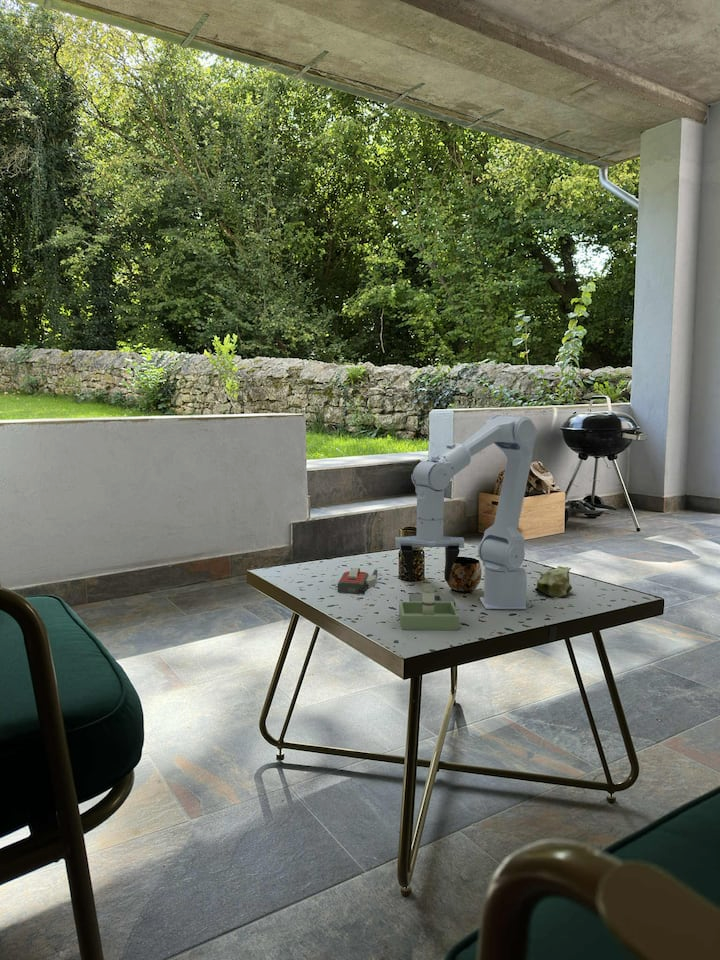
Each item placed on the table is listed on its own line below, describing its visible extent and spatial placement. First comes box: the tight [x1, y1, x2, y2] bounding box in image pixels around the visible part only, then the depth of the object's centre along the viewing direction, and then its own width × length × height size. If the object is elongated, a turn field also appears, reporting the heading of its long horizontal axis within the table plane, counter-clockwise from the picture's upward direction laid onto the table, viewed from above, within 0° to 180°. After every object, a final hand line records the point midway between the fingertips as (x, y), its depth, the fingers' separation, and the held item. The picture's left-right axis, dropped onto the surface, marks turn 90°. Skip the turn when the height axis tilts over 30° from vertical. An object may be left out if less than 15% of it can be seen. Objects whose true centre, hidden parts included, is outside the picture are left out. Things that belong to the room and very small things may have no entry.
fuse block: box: [408, 593, 457, 609], centre depth 167 cm, size 10×7×2 cm
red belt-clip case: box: [337, 567, 379, 595], centre depth 186 cm, size 9×4×20 cm
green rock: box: [534, 565, 573, 598], centre depth 178 cm, size 9×9×8 cm
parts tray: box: [398, 601, 460, 631], centre depth 156 cm, size 12×10×3 cm
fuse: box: [421, 583, 436, 615], centre depth 156 cm, size 3×3×8 cm
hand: (428, 580), depth 155 cm, fingers open, 7 cm apart
